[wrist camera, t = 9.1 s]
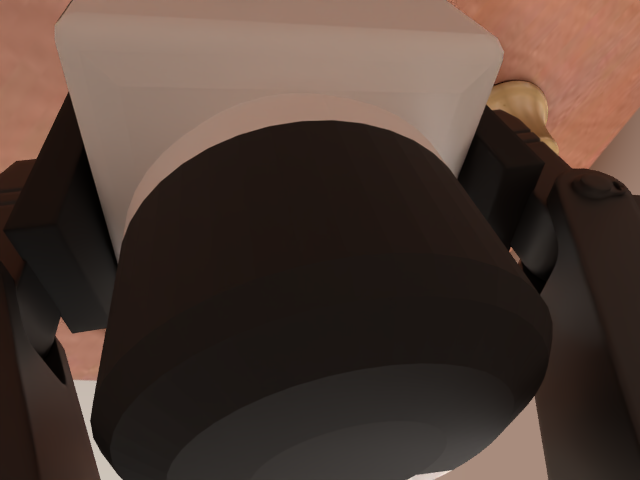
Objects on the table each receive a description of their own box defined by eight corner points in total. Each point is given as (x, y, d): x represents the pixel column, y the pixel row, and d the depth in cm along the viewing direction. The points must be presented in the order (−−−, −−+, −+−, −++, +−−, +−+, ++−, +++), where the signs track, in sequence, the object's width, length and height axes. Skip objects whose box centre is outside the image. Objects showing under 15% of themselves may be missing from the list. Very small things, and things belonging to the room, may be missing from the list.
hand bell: (476, 185, 41) (583, 325, 30) (431, 131, 36) (540, 276, 25) (559, 124, 38) (712, 255, 27) (523, 57, 33) (693, 183, 22)
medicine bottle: (113, -75, 11) (-197, 320, 2) (388, -50, 12) (805, 243, 4) (154, 170, 16) (102, 591, 7) (349, 166, 17) (497, 509, 9)
